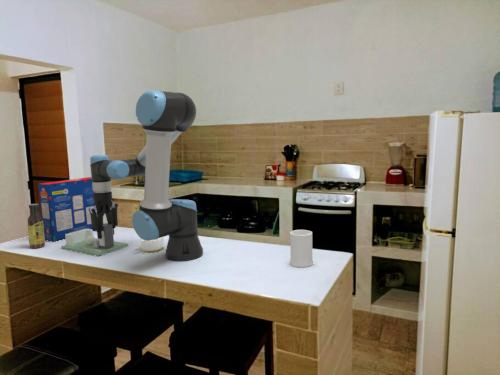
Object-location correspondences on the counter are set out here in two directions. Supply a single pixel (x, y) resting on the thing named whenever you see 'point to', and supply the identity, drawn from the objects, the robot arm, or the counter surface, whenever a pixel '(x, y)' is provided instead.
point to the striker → (106, 237)
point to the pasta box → (66, 207)
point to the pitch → (78, 243)
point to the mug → (301, 248)
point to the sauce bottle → (35, 227)
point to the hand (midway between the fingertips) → (106, 243)
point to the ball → (90, 240)
